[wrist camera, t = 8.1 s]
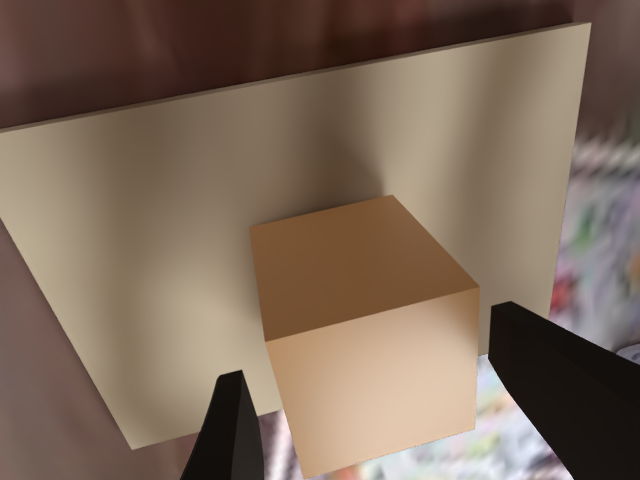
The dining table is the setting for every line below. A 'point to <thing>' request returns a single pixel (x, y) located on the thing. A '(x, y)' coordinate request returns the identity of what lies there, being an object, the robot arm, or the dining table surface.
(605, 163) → the dining table surface
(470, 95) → the flat beige rectangular board
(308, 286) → the tan cardboard cube
